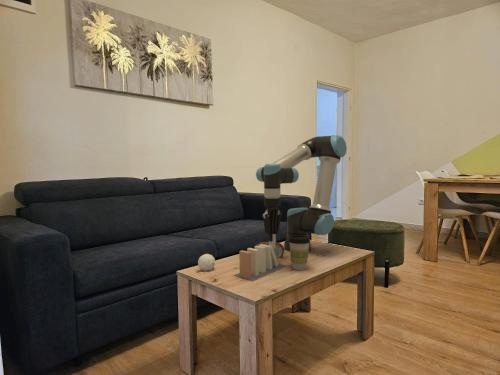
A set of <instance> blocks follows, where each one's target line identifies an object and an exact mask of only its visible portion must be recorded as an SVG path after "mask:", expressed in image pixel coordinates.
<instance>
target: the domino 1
mask: <svg viewBox="0 0 500 375" xmlns="http://www.w3.org/2000/svg"><path fill="white" fill-rule="evenodd" d="M238 256H239V273H240V277H243V278H246V279H250V278H251V252H247V250H242V249H241V250H240V251H239V255H238Z"/></svg>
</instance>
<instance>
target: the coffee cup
mask: <svg viewBox="0 0 500 375" xmlns="http://www.w3.org/2000/svg"><path fill="white" fill-rule="evenodd" d="M289 243H290V251H289V253H290V261H291V267H292V269H293V270H297V271H304V270H306V269H307V264H308V258H309V251H310V250H309V243H310V244H311V239H310V237H309V235H308V236H303V235H294V236H290V239H289Z"/></svg>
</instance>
